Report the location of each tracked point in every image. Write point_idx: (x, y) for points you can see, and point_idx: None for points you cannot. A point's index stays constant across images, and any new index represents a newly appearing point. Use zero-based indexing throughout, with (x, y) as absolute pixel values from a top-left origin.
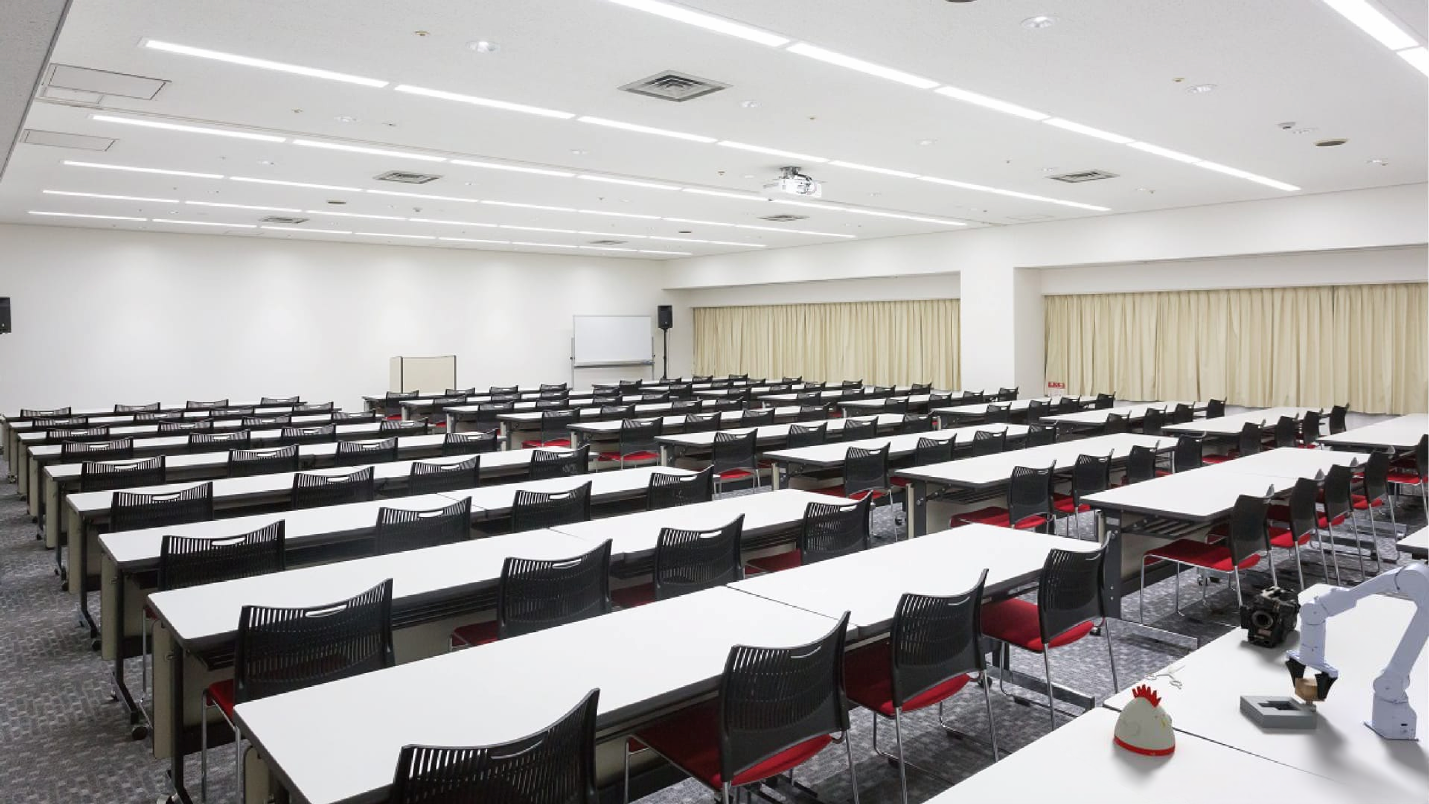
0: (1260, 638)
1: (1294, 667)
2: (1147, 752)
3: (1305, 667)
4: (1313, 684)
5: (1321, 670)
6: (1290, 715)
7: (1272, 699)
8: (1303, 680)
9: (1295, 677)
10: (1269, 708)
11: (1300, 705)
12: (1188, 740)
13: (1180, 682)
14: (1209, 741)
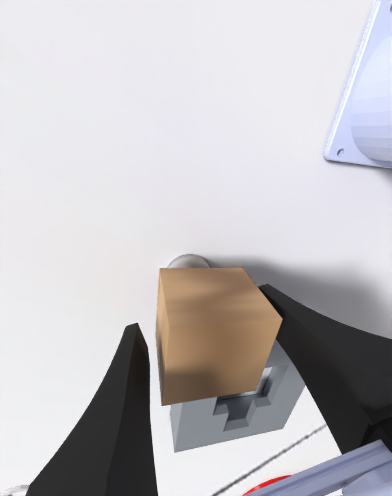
0: None
1: (153, 490)
2: None
3: (119, 430)
4: (251, 361)
5: (377, 470)
6: (301, 390)
7: (207, 403)
8: (197, 385)
9: (146, 400)
10: (258, 417)
11: None
12: (276, 467)
13: (17, 491)
14: (285, 453)
